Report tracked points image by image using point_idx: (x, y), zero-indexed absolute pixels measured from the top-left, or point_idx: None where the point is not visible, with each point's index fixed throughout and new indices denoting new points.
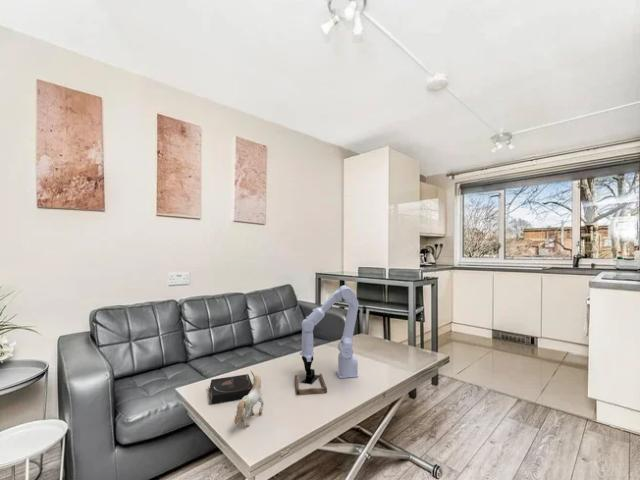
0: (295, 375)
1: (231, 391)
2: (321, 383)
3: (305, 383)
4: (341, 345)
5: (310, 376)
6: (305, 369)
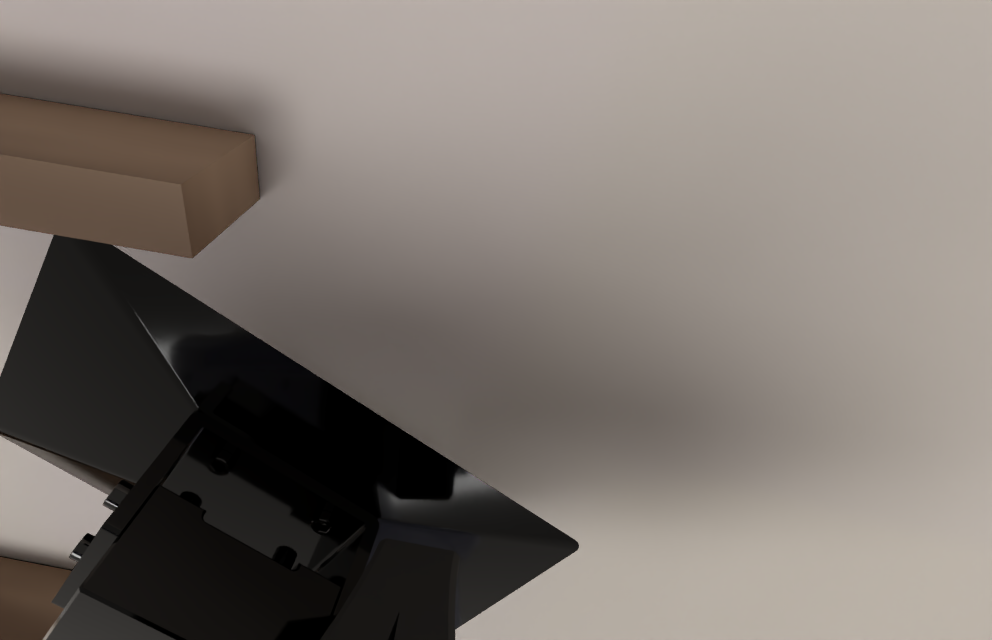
0: (166, 203)
1: None
2: (29, 570)
3: (17, 336)
4: None
5: (297, 527)
6: (347, 603)
